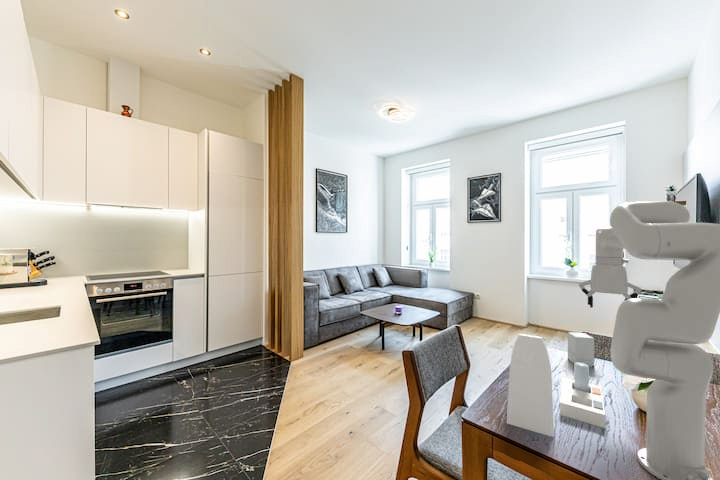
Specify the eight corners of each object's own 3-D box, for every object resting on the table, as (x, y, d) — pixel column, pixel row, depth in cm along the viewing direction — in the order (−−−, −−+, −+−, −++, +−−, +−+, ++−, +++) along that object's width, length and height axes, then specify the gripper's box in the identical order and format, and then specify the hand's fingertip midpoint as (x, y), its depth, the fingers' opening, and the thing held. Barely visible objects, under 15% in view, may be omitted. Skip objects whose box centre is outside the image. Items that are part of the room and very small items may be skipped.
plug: (591, 402, 99) (591, 367, 99) (579, 402, 99) (580, 367, 99) (582, 396, 103) (583, 362, 103) (571, 395, 103) (571, 362, 103)
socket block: (605, 428, 86) (605, 413, 86) (559, 414, 92) (560, 401, 92) (600, 398, 102) (600, 385, 102) (562, 388, 108) (562, 376, 108)
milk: (551, 415, 92) (552, 333, 92) (553, 437, 82) (554, 345, 82) (509, 404, 98) (509, 327, 98) (506, 423, 88) (507, 338, 88)
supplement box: (594, 367, 125) (595, 338, 125) (575, 365, 127) (575, 337, 127) (585, 360, 132) (585, 332, 132) (567, 358, 134) (567, 331, 134)
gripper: (640, 262, 103) (639, 310, 103) (578, 259, 113) (578, 303, 113) (643, 264, 97) (643, 315, 97) (578, 261, 107) (578, 307, 107)
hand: (608, 308), depth 105 cm, fingers open, 9 cm apart
